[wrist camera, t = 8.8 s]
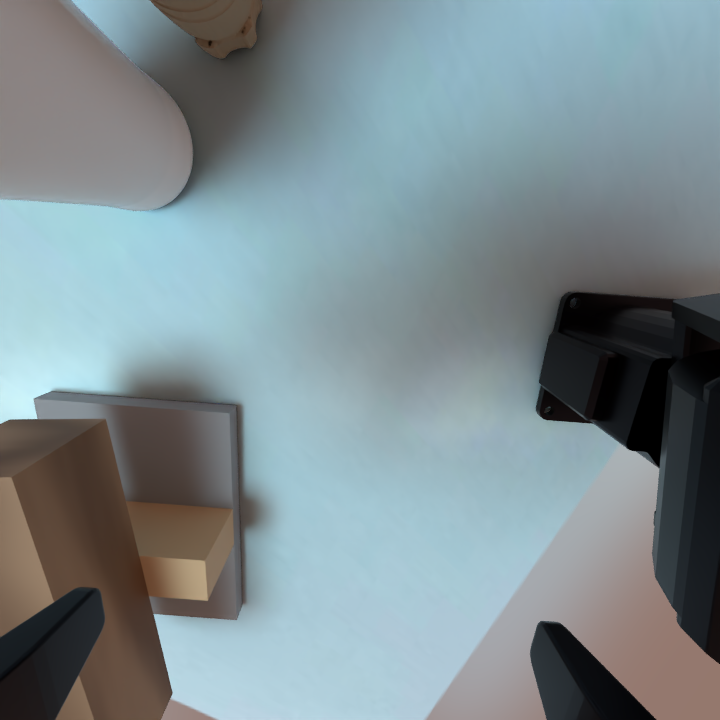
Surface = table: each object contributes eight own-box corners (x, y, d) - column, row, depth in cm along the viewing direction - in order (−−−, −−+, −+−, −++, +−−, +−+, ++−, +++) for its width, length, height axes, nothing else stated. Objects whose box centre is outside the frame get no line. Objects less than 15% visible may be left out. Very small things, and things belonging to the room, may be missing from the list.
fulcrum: (236, 405, 19) (197, 449, 15) (242, 604, 23) (213, 685, 19) (50, 391, 19) (-43, 431, 15) (87, 593, 23) (23, 671, 19)
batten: (105, 418, 14) (11, 477, 11) (172, 693, 19) (122, 804, 15) (9, 419, 15) (-118, 478, 11) (98, 692, 19) (31, 802, 15)
